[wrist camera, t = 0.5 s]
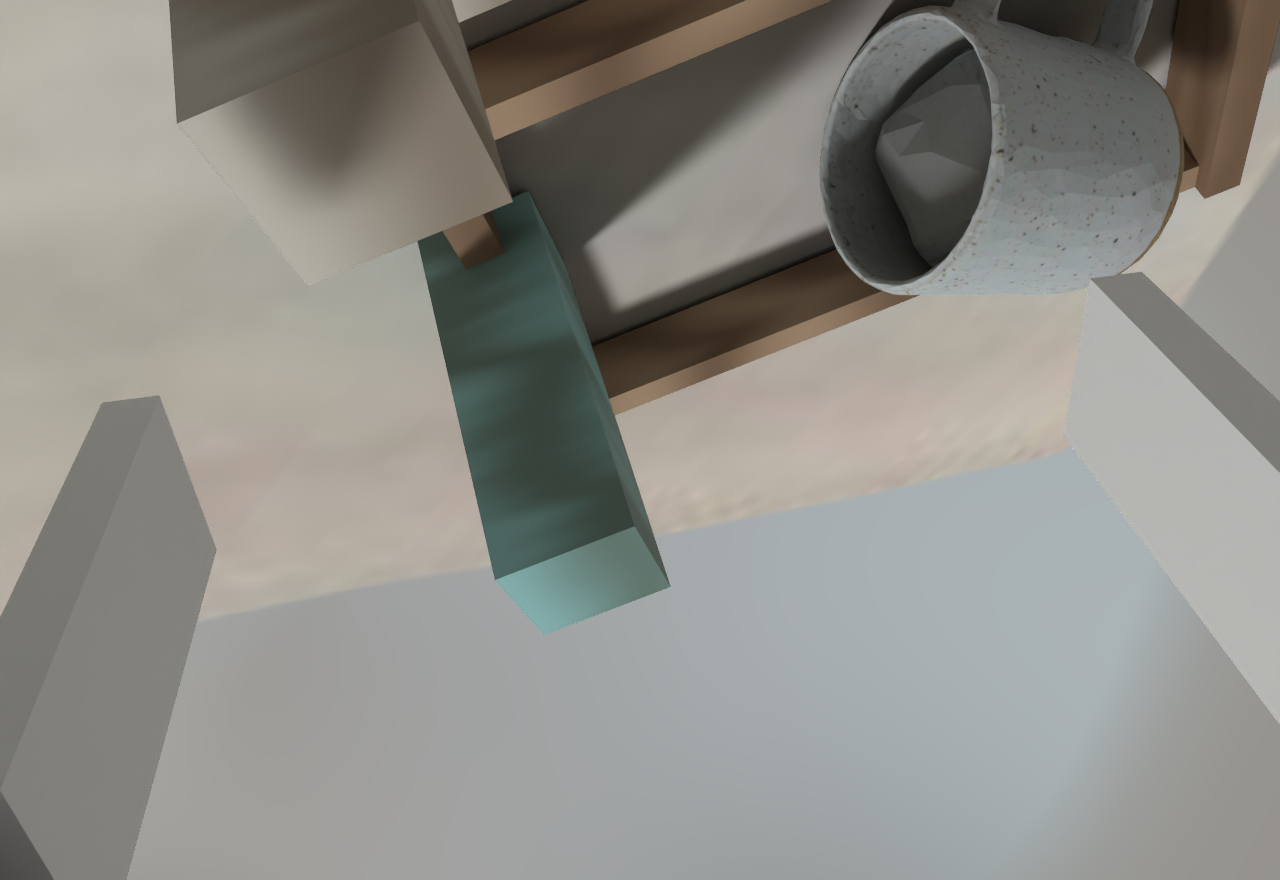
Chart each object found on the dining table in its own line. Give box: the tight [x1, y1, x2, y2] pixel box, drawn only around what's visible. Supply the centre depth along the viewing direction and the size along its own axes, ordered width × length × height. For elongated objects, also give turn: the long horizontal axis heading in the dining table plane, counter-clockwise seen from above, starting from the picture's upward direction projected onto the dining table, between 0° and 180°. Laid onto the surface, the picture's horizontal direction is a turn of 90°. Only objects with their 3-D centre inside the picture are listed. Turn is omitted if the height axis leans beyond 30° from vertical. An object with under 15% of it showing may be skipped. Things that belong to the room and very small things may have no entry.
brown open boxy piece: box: [418, 0, 1280, 635], centre depth 32 cm, size 25×14×12 cm, turn 106°
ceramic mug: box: [820, 0, 1184, 295], centre depth 33 cm, size 11×8×8 cm
